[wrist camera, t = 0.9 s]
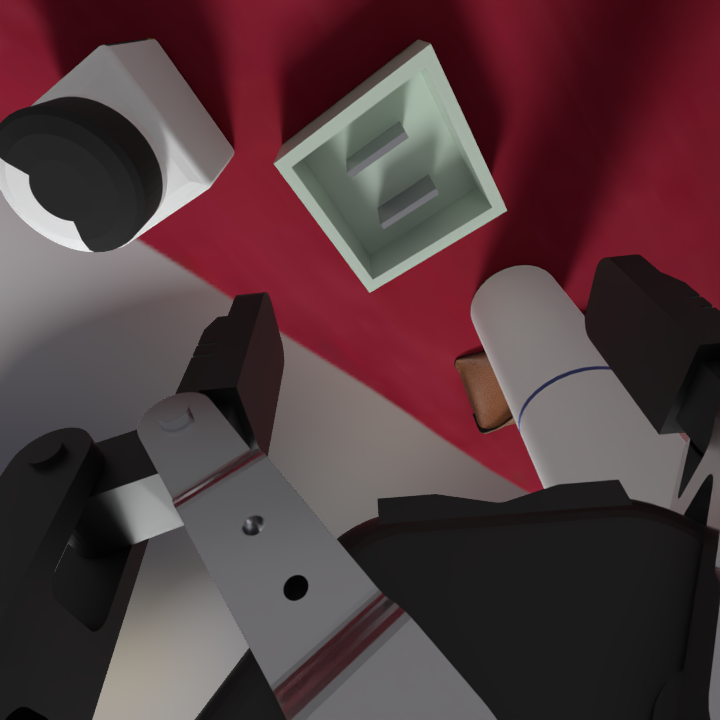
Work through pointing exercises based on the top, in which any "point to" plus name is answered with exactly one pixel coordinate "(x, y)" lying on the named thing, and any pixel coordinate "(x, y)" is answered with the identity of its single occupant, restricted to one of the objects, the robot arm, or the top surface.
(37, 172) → the medicine bottle
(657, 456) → the cylindrical container
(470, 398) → the sunglasses case
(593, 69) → the top surface
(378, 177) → the open box
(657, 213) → the top surface
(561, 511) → the robot arm
